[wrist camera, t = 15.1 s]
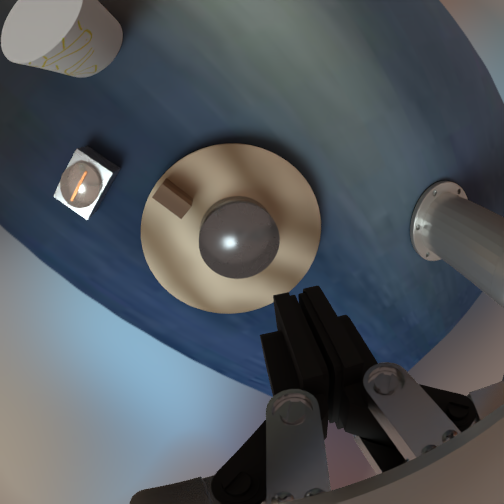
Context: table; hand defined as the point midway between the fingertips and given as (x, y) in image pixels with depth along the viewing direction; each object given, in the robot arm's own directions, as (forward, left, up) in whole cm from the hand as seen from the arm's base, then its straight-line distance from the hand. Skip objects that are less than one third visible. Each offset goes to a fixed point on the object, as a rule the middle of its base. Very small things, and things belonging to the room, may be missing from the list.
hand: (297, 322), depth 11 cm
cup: (+14, -20, -24) cm, 34 cm away
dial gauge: (+16, -4, -24) cm, 29 cm away
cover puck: (+1, +4, -21) cm, 22 cm away
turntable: (+1, +5, -24) cm, 24 cm away
